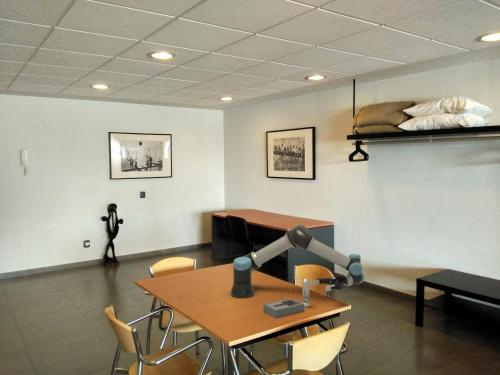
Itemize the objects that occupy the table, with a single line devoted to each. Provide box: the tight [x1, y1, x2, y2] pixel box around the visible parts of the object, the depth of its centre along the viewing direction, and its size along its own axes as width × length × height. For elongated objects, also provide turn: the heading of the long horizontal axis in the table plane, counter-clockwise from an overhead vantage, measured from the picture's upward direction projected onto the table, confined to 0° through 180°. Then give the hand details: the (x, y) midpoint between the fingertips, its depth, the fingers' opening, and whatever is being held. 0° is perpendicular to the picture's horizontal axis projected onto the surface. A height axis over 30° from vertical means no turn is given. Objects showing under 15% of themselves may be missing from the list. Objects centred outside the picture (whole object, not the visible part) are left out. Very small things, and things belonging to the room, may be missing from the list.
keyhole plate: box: [262, 298, 305, 319], centre depth 228 cm, size 20×12×4 cm, turn 122°
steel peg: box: [301, 277, 311, 308], centre depth 237 cm, size 5×5×16 cm
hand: (318, 286), depth 242 cm, fingers open, 13 cm apart
